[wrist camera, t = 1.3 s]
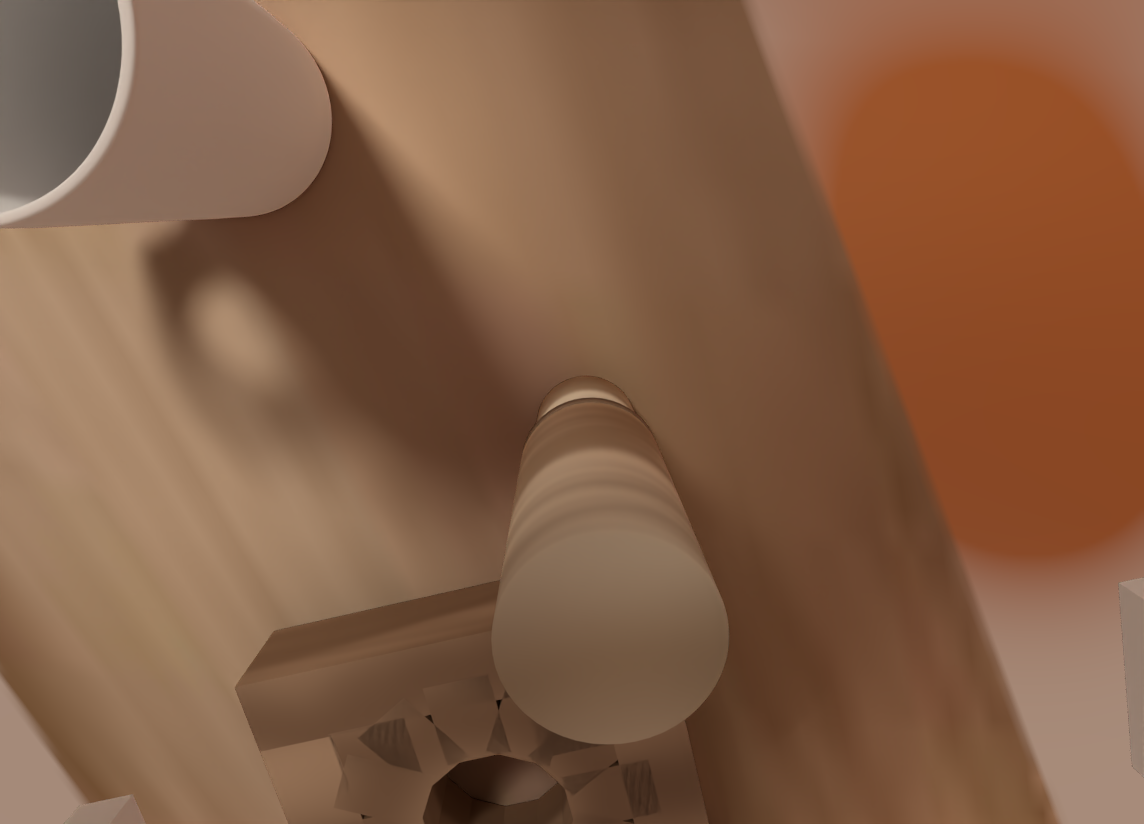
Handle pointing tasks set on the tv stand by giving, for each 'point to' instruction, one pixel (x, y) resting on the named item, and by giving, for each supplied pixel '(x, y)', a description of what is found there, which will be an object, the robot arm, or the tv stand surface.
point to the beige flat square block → (435, 727)
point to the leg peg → (603, 578)
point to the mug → (154, 112)
